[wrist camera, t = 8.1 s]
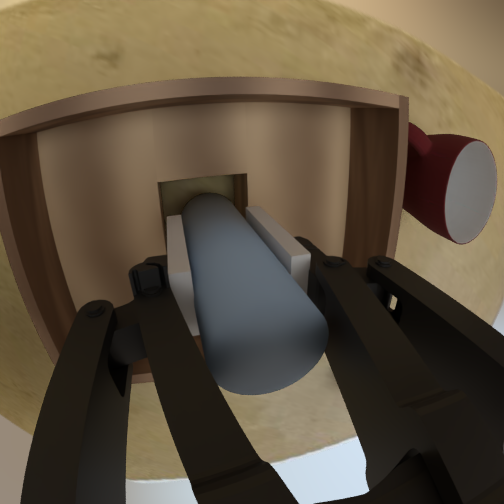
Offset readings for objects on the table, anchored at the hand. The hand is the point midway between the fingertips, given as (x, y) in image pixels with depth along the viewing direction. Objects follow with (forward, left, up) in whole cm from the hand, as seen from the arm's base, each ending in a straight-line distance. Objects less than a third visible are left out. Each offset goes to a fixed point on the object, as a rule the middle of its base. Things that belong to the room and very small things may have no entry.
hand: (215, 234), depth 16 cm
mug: (+17, +3, -7) cm, 18 cm away
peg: (0, 0, -3) cm, 3 cm away
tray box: (0, 0, -7) cm, 7 cm away
